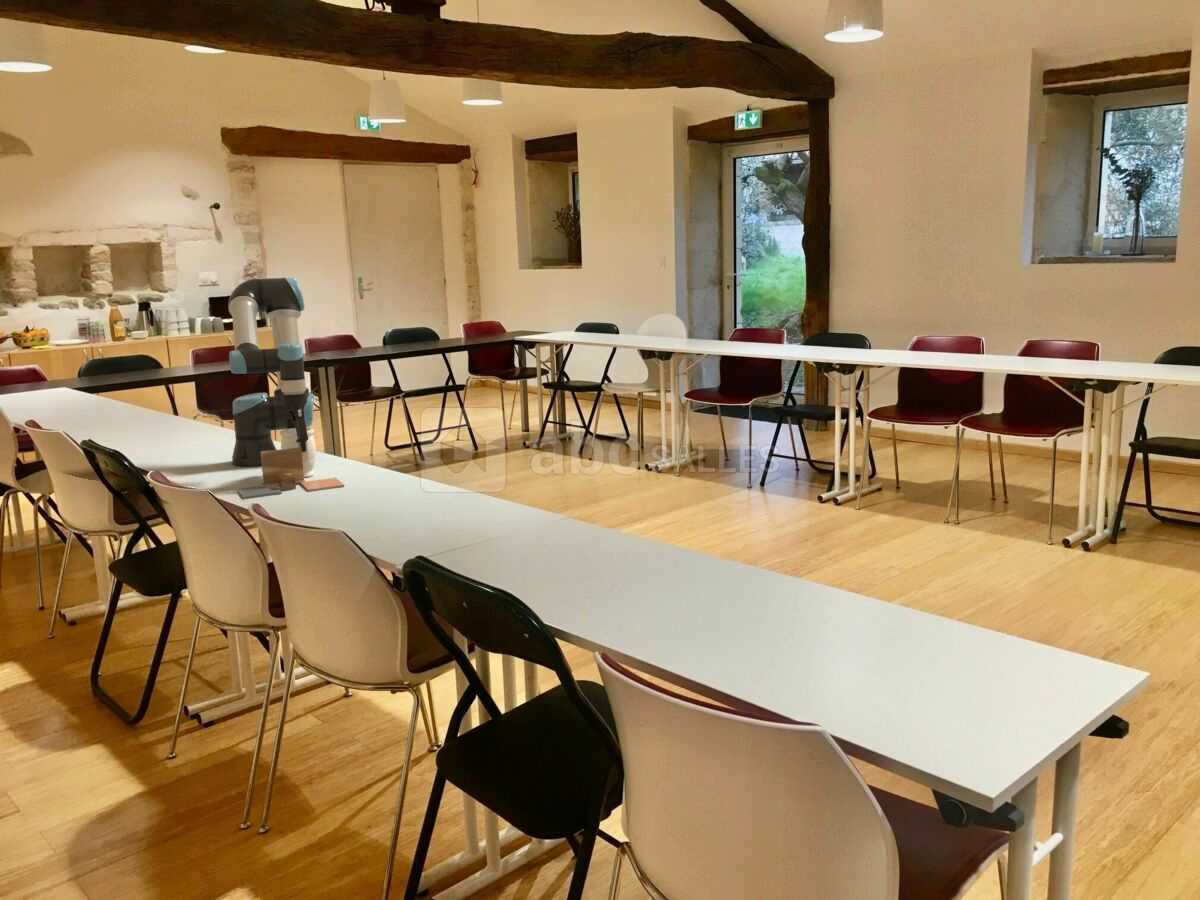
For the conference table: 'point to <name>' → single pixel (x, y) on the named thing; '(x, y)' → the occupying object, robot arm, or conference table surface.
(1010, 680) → the conference table surface
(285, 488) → the letter cube
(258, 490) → the pad slate
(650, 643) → the conference table surface
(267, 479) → the oak screen
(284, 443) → the jar
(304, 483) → the pad terracotta
